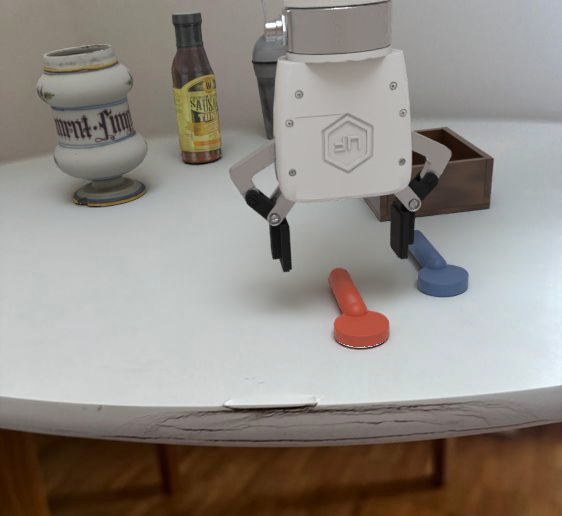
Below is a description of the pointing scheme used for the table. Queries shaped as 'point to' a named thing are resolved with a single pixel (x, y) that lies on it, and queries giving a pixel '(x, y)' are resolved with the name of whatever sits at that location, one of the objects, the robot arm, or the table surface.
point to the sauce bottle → (194, 92)
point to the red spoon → (355, 314)
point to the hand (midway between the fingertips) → (342, 259)
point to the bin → (448, 179)
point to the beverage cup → (266, 74)
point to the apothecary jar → (93, 122)
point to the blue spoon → (436, 270)
